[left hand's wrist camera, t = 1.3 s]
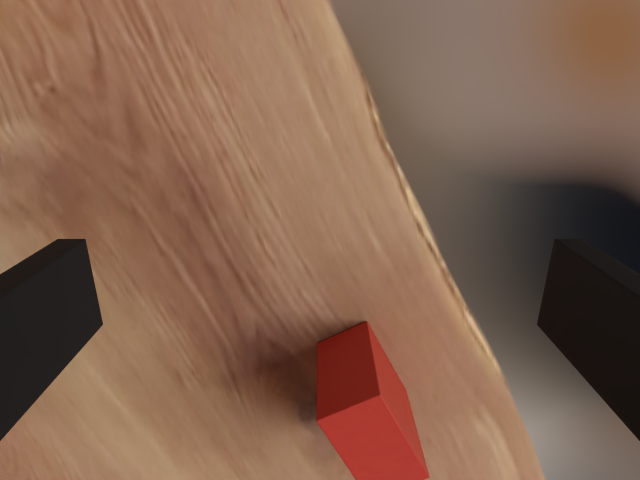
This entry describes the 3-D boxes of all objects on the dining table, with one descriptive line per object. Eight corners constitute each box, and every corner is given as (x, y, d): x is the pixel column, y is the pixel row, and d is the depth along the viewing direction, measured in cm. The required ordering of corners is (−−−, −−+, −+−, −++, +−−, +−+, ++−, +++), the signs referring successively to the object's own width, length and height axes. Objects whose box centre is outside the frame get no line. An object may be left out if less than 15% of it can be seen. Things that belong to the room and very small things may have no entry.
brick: (406, 390, 40) (429, 478, 31) (359, 410, 41) (369, 500, 32) (366, 320, 37) (380, 394, 29) (317, 342, 38) (315, 421, 29)
